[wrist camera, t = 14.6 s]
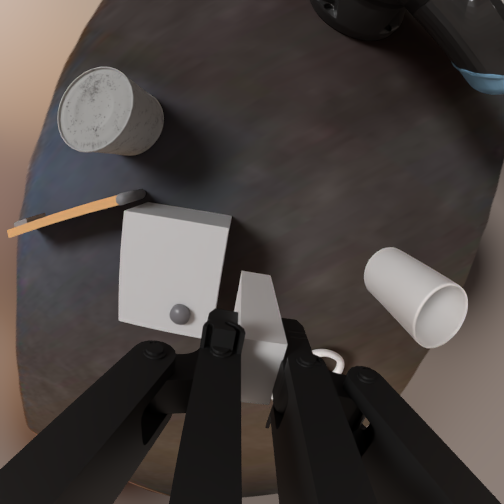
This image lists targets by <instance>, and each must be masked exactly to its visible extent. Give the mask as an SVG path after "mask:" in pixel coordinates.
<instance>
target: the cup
mask: <svg viewBox="0 0 504 504" xmlns="http://www.w3.org/2000/svg"><path fill="white" fill-rule="evenodd" d="M364 282H365V285H366V287H367V289H368V291H369V292H370V293H371V294H372V295H373V296H374V297H375V298H376V299H377V300H378V301H379V302H380V303H381V304H382V305H383V306H384V307H385V308H386V309H387V310H388V312H389V313H390V314H391V315H392V316H393V317H394V318H395V319H396V320H397V321H398V322H399V323H400V324H401V325H402V327H403V328H404V329H405V330H406V331H407V332H408V333H409V334H410V335H411V336H412V337H413V339H414V340H415V341H416V342H417V343H418V344H419V345H421V346H422V347H425V348H436V347H439V346H441V345H443V344H445V343H446V342H448V341H449V340H450V339H451V338H452V337H454V335H455V334H456V333H457V332H458V330H459V329H460V328H461V326H462V324H463V322H464V320H465V317H466V314H467V309H468V298H467V295H466V292H465V291H464V289H463V288H462V287H461V286H459V285H458V284H456V283H455V282H453V281H452V280H450V279H448V278H447V277H445V276H444V275H442V274H440V273H439V272H437V271H435V270H434V269H432V268H430V267H429V266H427V265H425V264H424V263H422V262H420V261H418V260H417V259H415V258H413V257H412V256H410V255H408V254H406V253H405V252H403V251H401V250H399V249H397V248H393V247H388V248H384V249H381V250H379V251H378V252H376V253H375V254H374V255H373V256H372V257H371V258H370V260H369V261H368V263H367V265H366V268H365V271H364Z"/></svg>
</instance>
